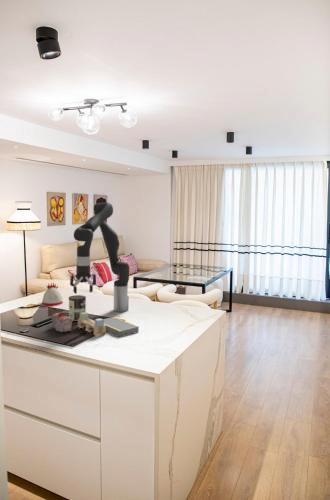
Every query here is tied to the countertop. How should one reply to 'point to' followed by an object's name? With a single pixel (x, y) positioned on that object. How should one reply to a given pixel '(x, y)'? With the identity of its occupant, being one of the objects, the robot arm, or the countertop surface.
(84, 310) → the coffee can
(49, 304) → the kitchen timer
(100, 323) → the crate
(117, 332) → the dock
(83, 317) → the crate
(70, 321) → the food item
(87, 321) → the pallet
